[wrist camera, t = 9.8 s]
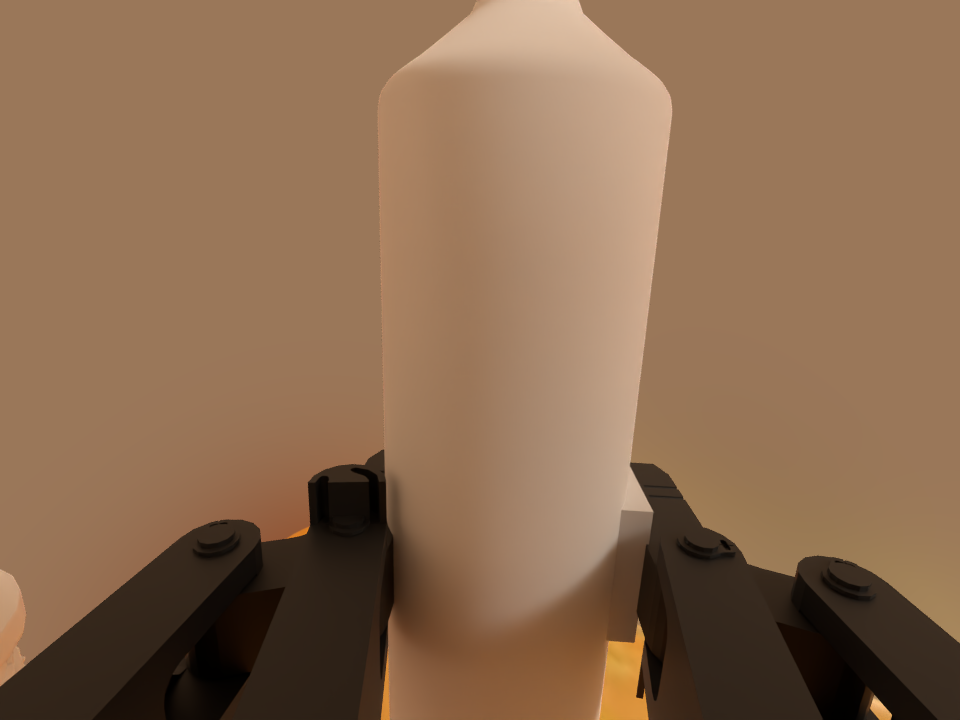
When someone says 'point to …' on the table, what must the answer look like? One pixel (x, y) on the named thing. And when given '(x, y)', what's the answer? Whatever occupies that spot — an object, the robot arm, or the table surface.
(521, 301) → the candle
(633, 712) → the table surface
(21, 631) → the decorative container
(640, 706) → the table surface
